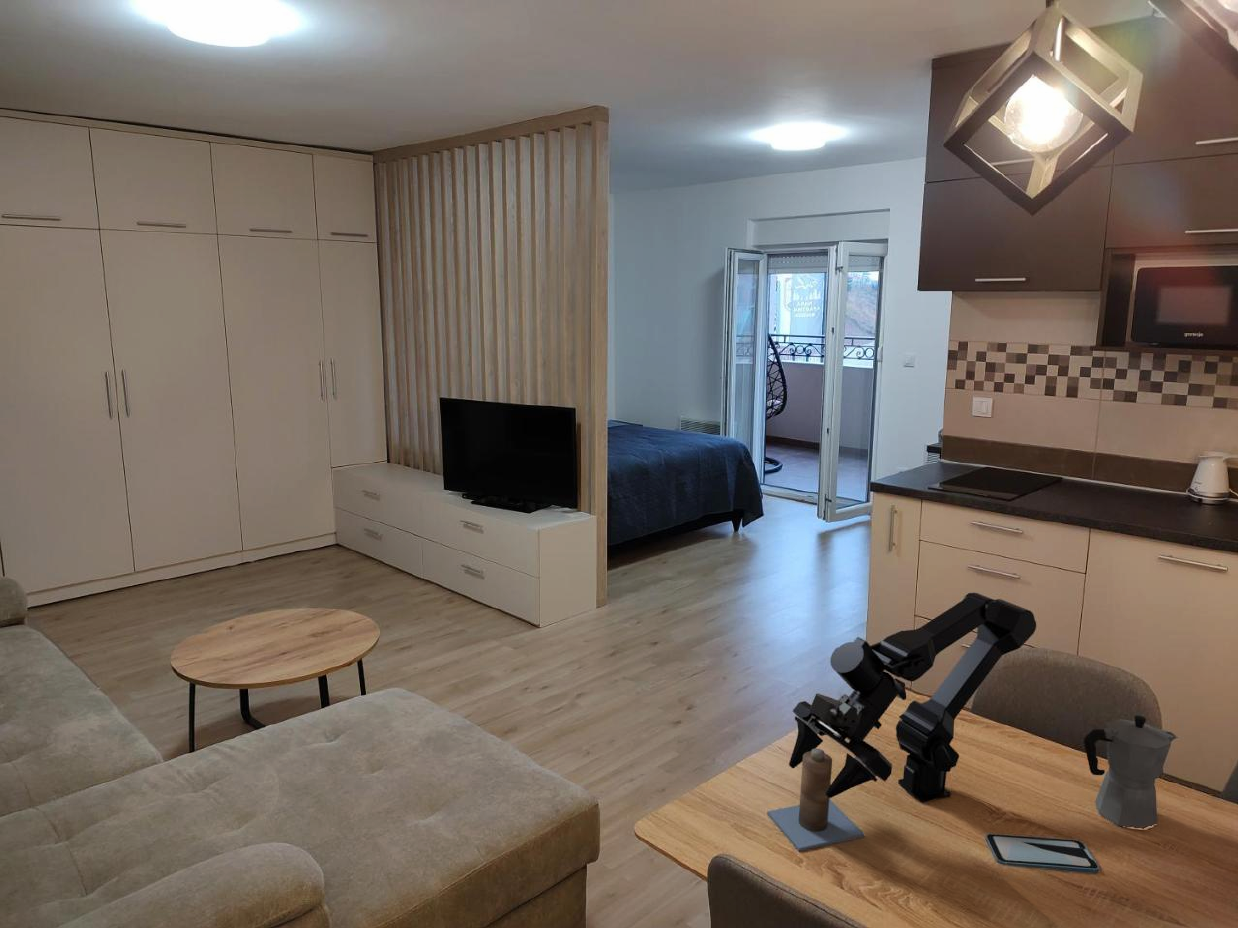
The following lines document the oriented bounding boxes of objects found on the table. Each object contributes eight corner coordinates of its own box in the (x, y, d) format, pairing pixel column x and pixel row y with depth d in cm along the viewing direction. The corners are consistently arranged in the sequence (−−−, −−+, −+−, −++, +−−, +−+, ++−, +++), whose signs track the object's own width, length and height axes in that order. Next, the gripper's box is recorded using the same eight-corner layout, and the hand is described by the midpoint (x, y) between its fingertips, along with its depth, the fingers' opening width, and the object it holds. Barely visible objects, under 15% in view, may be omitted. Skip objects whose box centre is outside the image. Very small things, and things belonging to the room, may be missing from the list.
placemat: (829, 801, 145) (829, 798, 145) (864, 836, 136) (864, 833, 136) (767, 813, 141) (767, 811, 141) (798, 850, 132) (798, 848, 132)
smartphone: (983, 832, 137) (1081, 839, 135) (983, 837, 137) (1081, 844, 135) (997, 862, 130) (1101, 870, 128) (997, 867, 130) (1101, 875, 128)
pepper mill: (825, 815, 140) (831, 745, 138) (828, 832, 136) (834, 760, 133) (797, 812, 141) (802, 742, 138) (799, 829, 136) (804, 757, 134)
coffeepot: (1145, 798, 148) (1160, 702, 145) (1182, 831, 139) (1199, 730, 135) (1059, 798, 148) (1072, 702, 144) (1090, 832, 138) (1105, 730, 135)
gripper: (804, 655, 143) (747, 729, 141) (884, 703, 127) (820, 787, 124) (838, 690, 148) (783, 761, 146) (918, 740, 132) (858, 822, 129)
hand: (808, 781), depth 136 cm, fingers open, 9 cm apart
